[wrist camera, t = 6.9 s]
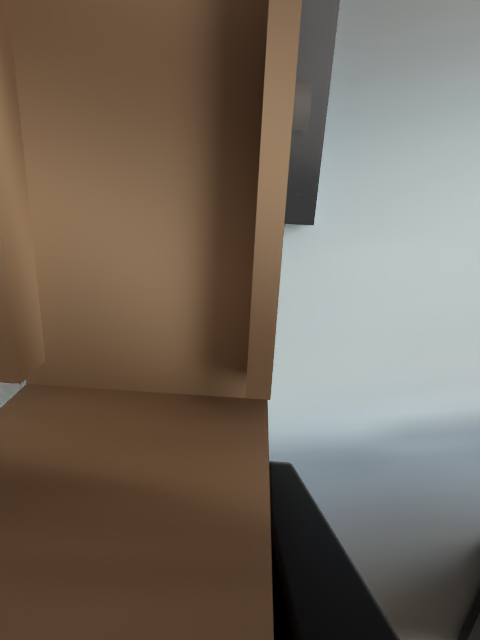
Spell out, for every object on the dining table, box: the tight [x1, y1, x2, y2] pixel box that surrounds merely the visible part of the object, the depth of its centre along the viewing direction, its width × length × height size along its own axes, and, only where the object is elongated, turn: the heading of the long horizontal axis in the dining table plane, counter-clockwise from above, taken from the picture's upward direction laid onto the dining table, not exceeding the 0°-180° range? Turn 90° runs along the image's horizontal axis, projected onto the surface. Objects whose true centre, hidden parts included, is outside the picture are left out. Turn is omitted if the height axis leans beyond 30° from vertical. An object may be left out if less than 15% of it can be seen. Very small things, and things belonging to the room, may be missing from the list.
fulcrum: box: [284, 0, 340, 225], centre depth 9 cm, size 5×6×2 cm
